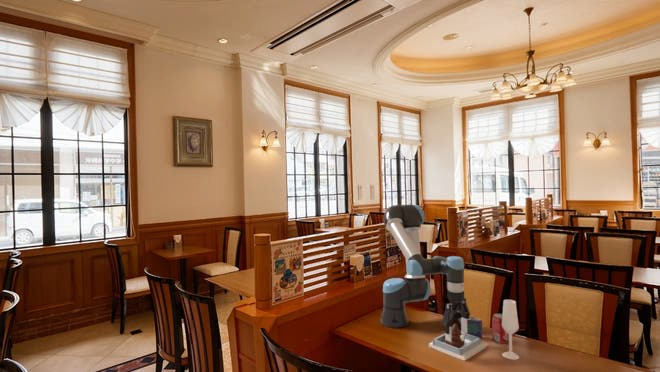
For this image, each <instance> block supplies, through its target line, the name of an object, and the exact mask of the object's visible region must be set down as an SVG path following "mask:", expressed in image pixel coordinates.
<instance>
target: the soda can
mask: <svg viewBox="0 0 660 372" xmlns="http://www.w3.org/2000/svg"><path fill="white" fill-rule="evenodd" d="M502 314H503V313H494V314H493V315H492V319H491V330H492V339H493V340H494V341H495V342H497V343H501V344H502V343H503V344H504V343H507V342H509V334H508V333H507V332H506V331H505V330H504V329H503V327H502Z"/></svg>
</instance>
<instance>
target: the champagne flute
mask: <svg viewBox="0 0 660 372" xmlns="http://www.w3.org/2000/svg"><path fill="white" fill-rule="evenodd" d="M502 304H503V305H502V313H501V314H502V327H503V329H504V330H505V331H506V332H507V333H508V351H505V352H502V354H501V355H502V356H503V357H504V358H506V359H509V360H519V359H520V356H519V355H518V354H517V353H515V352H513V334H515V333H517V332H518V330H519V329H520V326H519V319H518V310H517V302H516V300H513V299H504V300H503V303H502Z"/></svg>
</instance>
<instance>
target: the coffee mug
mask: <svg viewBox="0 0 660 372" xmlns="http://www.w3.org/2000/svg"><path fill="white" fill-rule="evenodd" d="M451 310H452V309H451ZM461 318H463V317H462V316H461V314H460V312H459V311H457V312H456V314H454V317H453V320H452V322H451V325H450V326H451V327H452V326H453V325H454V323H455V324H457V326H458V328H459V330H460V331H461Z"/></svg>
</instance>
